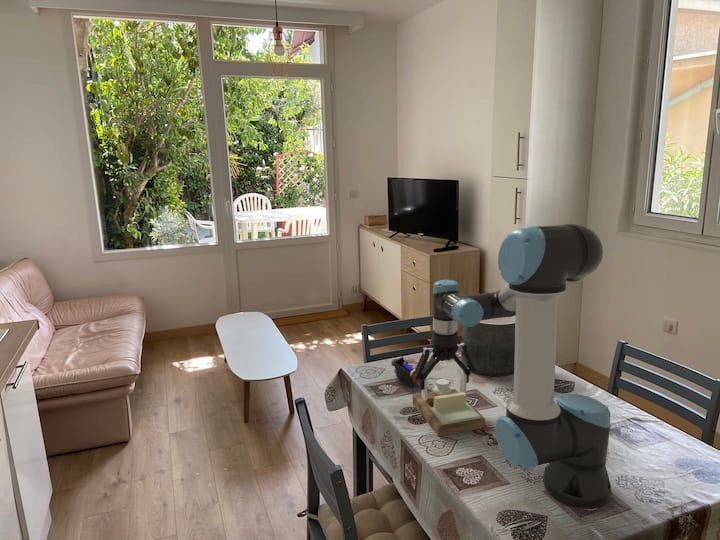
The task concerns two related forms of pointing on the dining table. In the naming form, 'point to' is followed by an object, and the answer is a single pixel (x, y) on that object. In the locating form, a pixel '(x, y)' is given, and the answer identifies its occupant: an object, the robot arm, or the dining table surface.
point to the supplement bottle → (442, 388)
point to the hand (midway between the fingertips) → (443, 395)
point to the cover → (453, 409)
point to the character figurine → (404, 371)
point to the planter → (491, 346)
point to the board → (435, 424)
